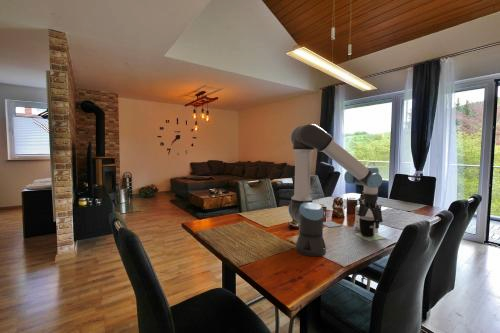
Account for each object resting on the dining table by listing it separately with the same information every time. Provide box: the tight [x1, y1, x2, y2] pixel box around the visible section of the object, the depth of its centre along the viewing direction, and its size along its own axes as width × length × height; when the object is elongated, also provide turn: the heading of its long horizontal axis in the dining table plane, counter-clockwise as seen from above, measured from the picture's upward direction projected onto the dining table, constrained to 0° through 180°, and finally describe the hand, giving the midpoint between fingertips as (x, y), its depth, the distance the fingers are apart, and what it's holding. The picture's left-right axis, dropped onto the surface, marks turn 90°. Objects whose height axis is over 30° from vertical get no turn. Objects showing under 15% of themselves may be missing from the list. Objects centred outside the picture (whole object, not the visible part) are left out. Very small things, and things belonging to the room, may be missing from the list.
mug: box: [359, 216, 375, 237], centre depth 140 cm, size 12×9×10 cm
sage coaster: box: [353, 232, 386, 242], centre depth 140 cm, size 12×12×1 cm
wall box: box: [354, 205, 374, 230], centre depth 155 cm, size 9×9×14 cm
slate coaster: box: [323, 220, 342, 228], centre depth 163 cm, size 10×10×1 cm
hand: (369, 230), depth 140 cm, fingers closed on mug, 9 cm apart
